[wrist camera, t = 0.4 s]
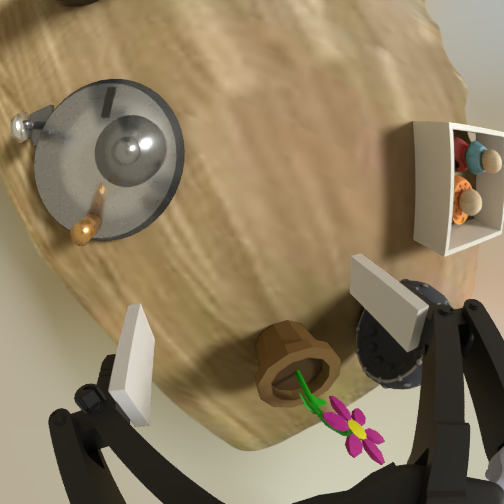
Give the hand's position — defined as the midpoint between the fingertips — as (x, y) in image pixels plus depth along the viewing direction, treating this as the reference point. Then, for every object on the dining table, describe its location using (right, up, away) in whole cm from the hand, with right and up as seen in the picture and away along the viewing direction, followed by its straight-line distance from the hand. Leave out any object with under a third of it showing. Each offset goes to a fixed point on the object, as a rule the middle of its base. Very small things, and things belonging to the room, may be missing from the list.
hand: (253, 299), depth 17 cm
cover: (-14, +15, +14) cm, 25 cm away
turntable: (-19, +14, +14) cm, 28 cm away
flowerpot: (+6, -14, +34) cm, 37 cm away
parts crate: (+42, +18, +30) cm, 54 cm away
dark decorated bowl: (+26, -9, +37) cm, 46 cm away
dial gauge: (-30, +21, +12) cm, 38 cm away
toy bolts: (+42, +18, +30) cm, 55 cm away
